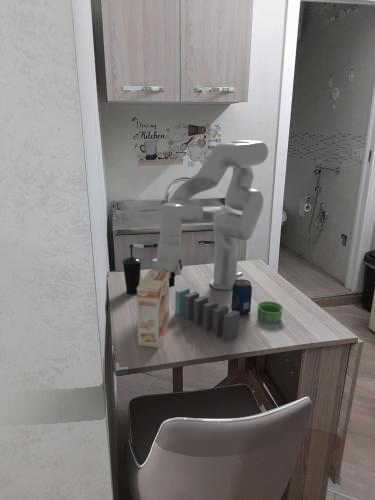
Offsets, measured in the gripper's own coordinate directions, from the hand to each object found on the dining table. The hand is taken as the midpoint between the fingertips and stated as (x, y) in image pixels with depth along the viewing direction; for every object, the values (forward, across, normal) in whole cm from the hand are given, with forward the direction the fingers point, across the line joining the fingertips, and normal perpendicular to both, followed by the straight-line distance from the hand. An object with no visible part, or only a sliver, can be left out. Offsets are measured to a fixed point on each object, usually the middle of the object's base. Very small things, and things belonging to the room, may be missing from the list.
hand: (169, 286), depth 136 cm
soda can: (+8, +20, +17) cm, 28 cm away
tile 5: (+8, +25, +1) cm, 27 cm away
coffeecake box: (+9, +12, -16) cm, 22 cm away
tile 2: (+8, +12, +1) cm, 14 cm away
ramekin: (+8, +30, +22) cm, 38 cm away
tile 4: (+8, +21, +1) cm, 22 cm away
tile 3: (+8, +16, +1) cm, 18 cm away
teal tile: (+8, +6, +1) cm, 11 cm away
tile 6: (+8, +30, +1) cm, 31 cm away
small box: (+8, -20, +13) cm, 26 cm away
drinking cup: (+9, -20, -3) cm, 22 cm away
